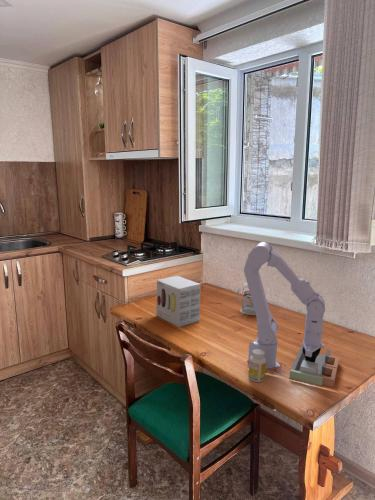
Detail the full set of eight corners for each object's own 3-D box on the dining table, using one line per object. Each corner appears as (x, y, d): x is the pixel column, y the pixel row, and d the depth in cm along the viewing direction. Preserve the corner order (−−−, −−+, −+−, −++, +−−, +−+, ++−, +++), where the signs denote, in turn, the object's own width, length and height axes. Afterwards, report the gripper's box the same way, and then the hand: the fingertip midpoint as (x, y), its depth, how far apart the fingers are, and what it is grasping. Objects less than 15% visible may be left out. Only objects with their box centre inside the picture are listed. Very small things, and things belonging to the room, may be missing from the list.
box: (301, 351, 146) (302, 344, 146) (339, 359, 140) (340, 352, 140) (289, 379, 126) (290, 370, 125) (333, 390, 120) (333, 381, 119)
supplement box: (155, 316, 179) (155, 279, 175) (176, 310, 187) (177, 275, 184) (178, 327, 166) (179, 288, 162) (200, 320, 174) (201, 283, 171)
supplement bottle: (250, 382, 123) (252, 355, 121) (246, 374, 128) (248, 348, 126) (266, 382, 123) (268, 355, 122) (262, 373, 129) (263, 347, 127)
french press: (261, 315, 183) (264, 265, 178) (237, 314, 183) (240, 264, 179) (258, 308, 193) (261, 260, 188) (235, 307, 193) (237, 260, 188)
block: (315, 381, 124) (316, 369, 123) (299, 377, 126) (300, 366, 125) (317, 374, 128) (318, 363, 127) (302, 370, 130) (303, 359, 130)
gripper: (322, 341, 120) (318, 379, 123) (328, 325, 133) (324, 361, 135) (300, 336, 123) (296, 374, 126) (307, 321, 136) (304, 356, 138)
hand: (309, 367), depth 131 cm, fingers closed
